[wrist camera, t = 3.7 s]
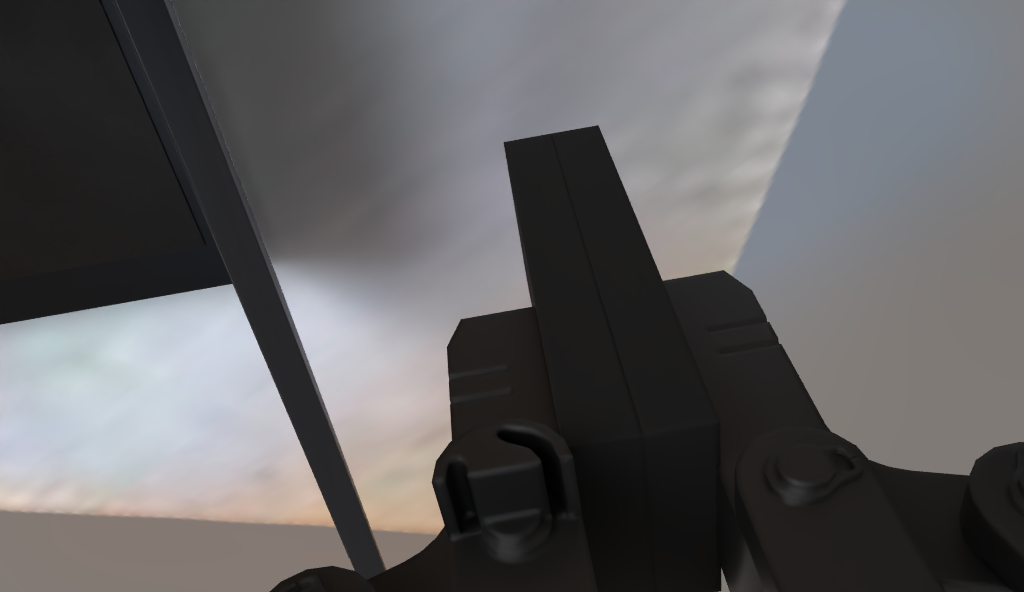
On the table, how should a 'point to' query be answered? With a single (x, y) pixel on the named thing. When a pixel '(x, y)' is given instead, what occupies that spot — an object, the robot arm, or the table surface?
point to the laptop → (88, 170)
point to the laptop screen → (246, 259)
